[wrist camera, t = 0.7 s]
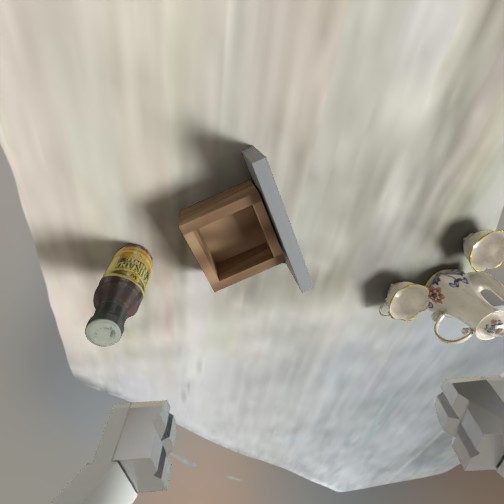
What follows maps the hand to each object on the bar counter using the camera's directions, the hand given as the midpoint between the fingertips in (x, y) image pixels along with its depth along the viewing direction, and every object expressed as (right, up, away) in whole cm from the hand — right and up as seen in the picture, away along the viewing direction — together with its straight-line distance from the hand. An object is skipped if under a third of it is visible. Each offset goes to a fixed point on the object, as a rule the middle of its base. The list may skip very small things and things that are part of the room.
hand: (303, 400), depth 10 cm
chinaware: (+37, -1, +59) cm, 70 cm away
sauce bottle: (-22, +4, +46) cm, 51 cm away
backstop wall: (+2, +12, +46) cm, 48 cm away
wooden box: (-5, +9, +46) cm, 47 cm away
